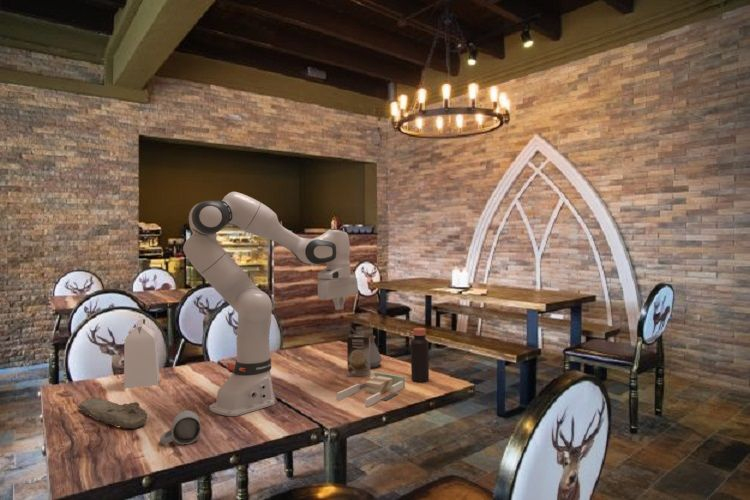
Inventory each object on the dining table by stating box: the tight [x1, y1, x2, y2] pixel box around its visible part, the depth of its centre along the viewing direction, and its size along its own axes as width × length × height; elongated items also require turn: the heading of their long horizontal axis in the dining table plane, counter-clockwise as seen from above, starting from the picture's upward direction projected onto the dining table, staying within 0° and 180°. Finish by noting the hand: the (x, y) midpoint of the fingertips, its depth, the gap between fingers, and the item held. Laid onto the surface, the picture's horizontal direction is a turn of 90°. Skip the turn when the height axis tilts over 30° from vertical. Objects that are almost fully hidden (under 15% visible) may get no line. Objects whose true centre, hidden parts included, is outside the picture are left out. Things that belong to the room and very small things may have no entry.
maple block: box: [364, 376, 393, 395], centre depth 175 cm, size 9×6×4 cm, turn 147°
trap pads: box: [359, 383, 399, 402], centre depth 173 cm, size 12×17×1 cm
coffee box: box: [346, 333, 372, 378], centre depth 195 cm, size 9×6×16 cm
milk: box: [123, 316, 160, 390], centre depth 186 cm, size 12×12×26 cm
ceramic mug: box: [159, 410, 202, 446], centre depth 134 cm, size 11×8×8 cm
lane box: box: [336, 371, 406, 408], centre depth 171 cm, size 24×13×4 cm, turn 146°
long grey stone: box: [78, 397, 148, 429], centre depth 153 cm, size 35×5×10 cm
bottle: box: [410, 327, 430, 383], centre depth 186 cm, size 7×7×20 cm
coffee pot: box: [347, 326, 383, 369], centre depth 212 cm, size 21×12×15 cm, turn 34°
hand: (339, 309), depth 179 cm, fingers closed
